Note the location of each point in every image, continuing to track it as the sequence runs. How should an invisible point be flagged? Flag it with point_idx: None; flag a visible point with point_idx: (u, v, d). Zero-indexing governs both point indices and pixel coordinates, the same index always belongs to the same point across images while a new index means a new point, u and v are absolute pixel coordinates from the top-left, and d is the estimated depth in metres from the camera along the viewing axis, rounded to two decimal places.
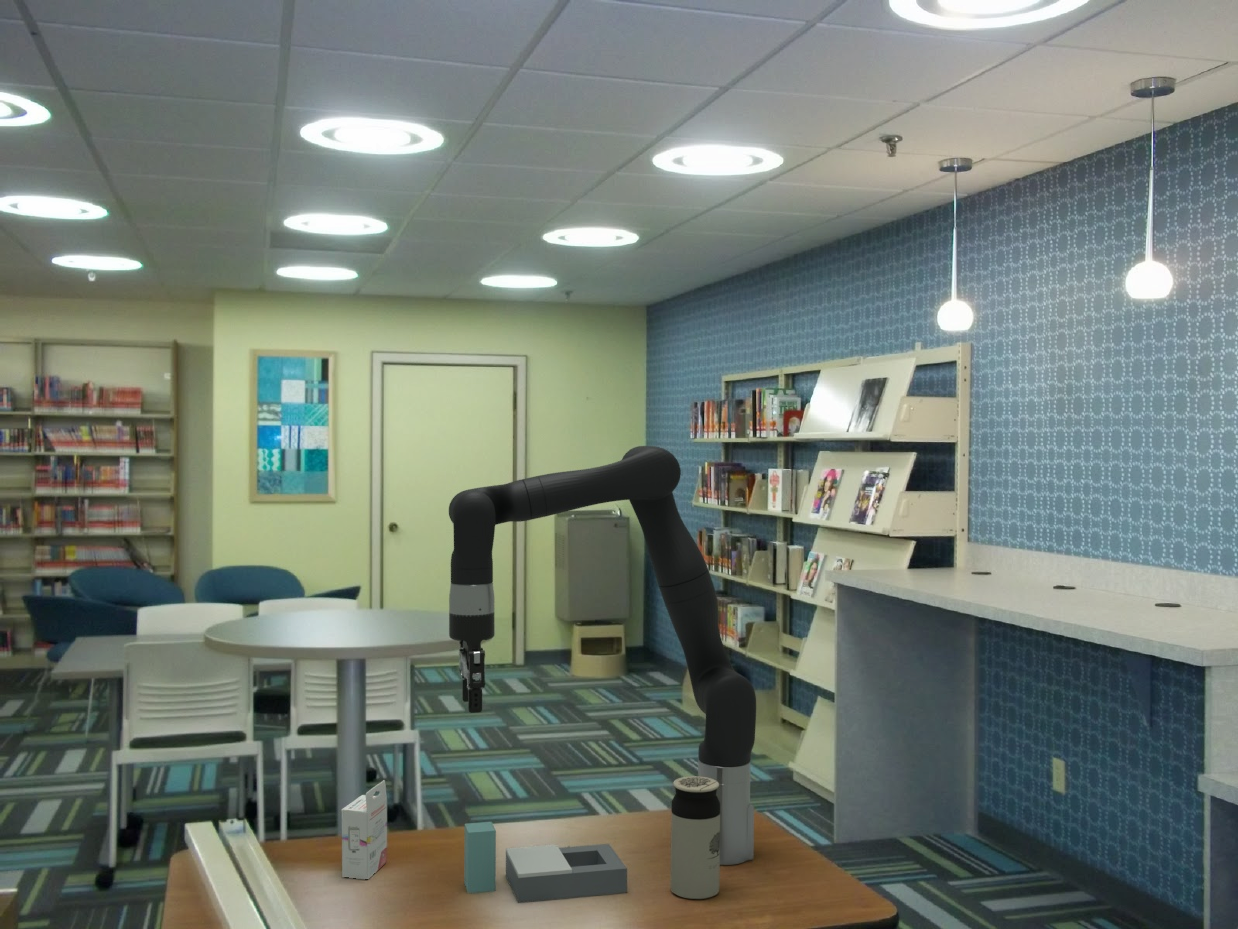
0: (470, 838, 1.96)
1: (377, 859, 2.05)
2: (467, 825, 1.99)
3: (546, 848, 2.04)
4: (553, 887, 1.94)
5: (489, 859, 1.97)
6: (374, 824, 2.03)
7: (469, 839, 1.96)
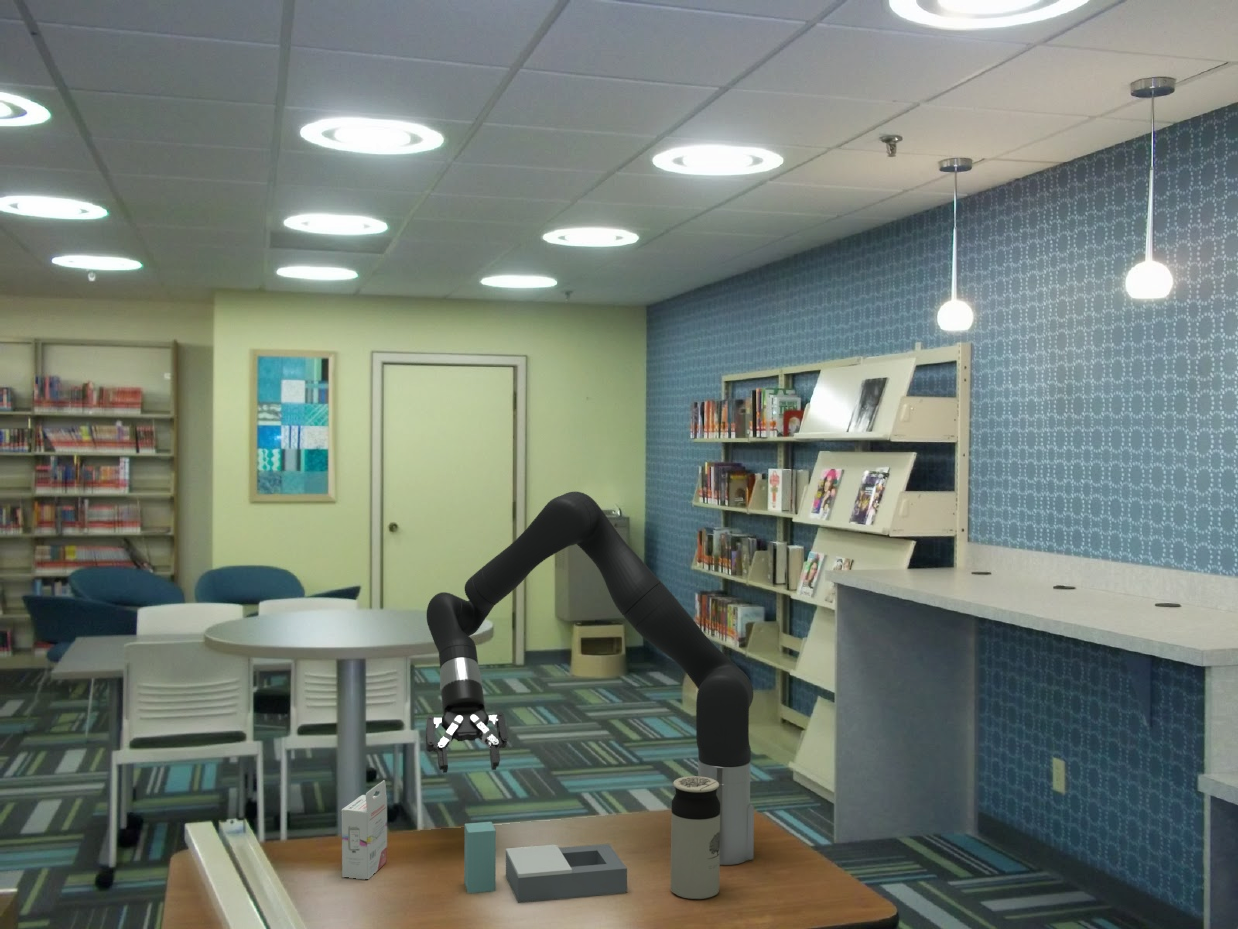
0: (470, 838, 1.96)
1: (377, 859, 2.05)
2: (467, 825, 1.99)
3: (546, 848, 2.04)
4: (553, 887, 1.94)
5: (489, 859, 1.97)
6: (374, 824, 2.03)
7: (469, 839, 1.96)
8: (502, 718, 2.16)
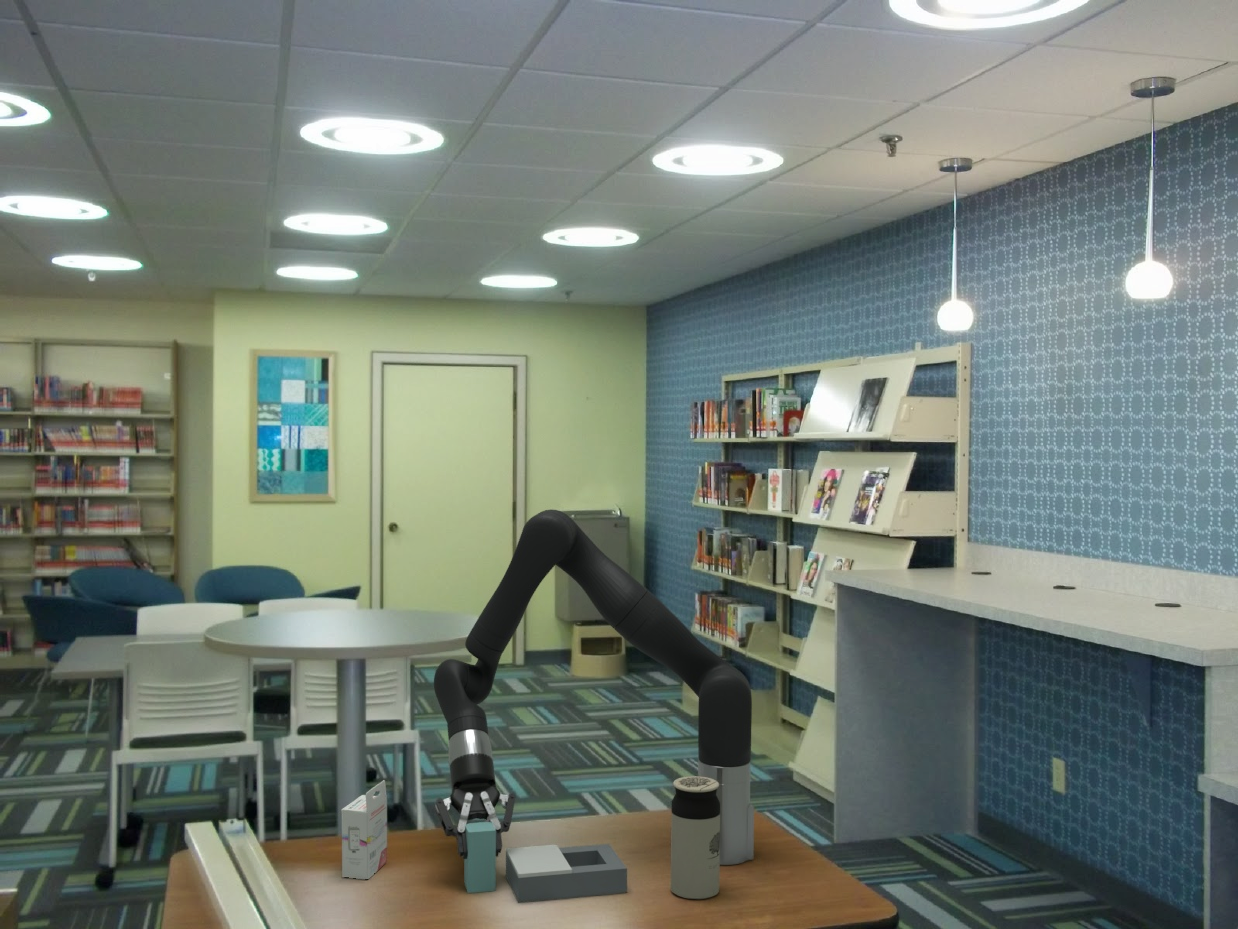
0: (470, 838, 1.96)
1: (377, 859, 2.05)
2: (467, 825, 1.99)
3: (546, 848, 2.04)
4: (553, 887, 1.94)
5: (489, 859, 1.97)
6: (374, 824, 2.03)
7: (469, 839, 1.96)
8: (512, 800, 2.04)
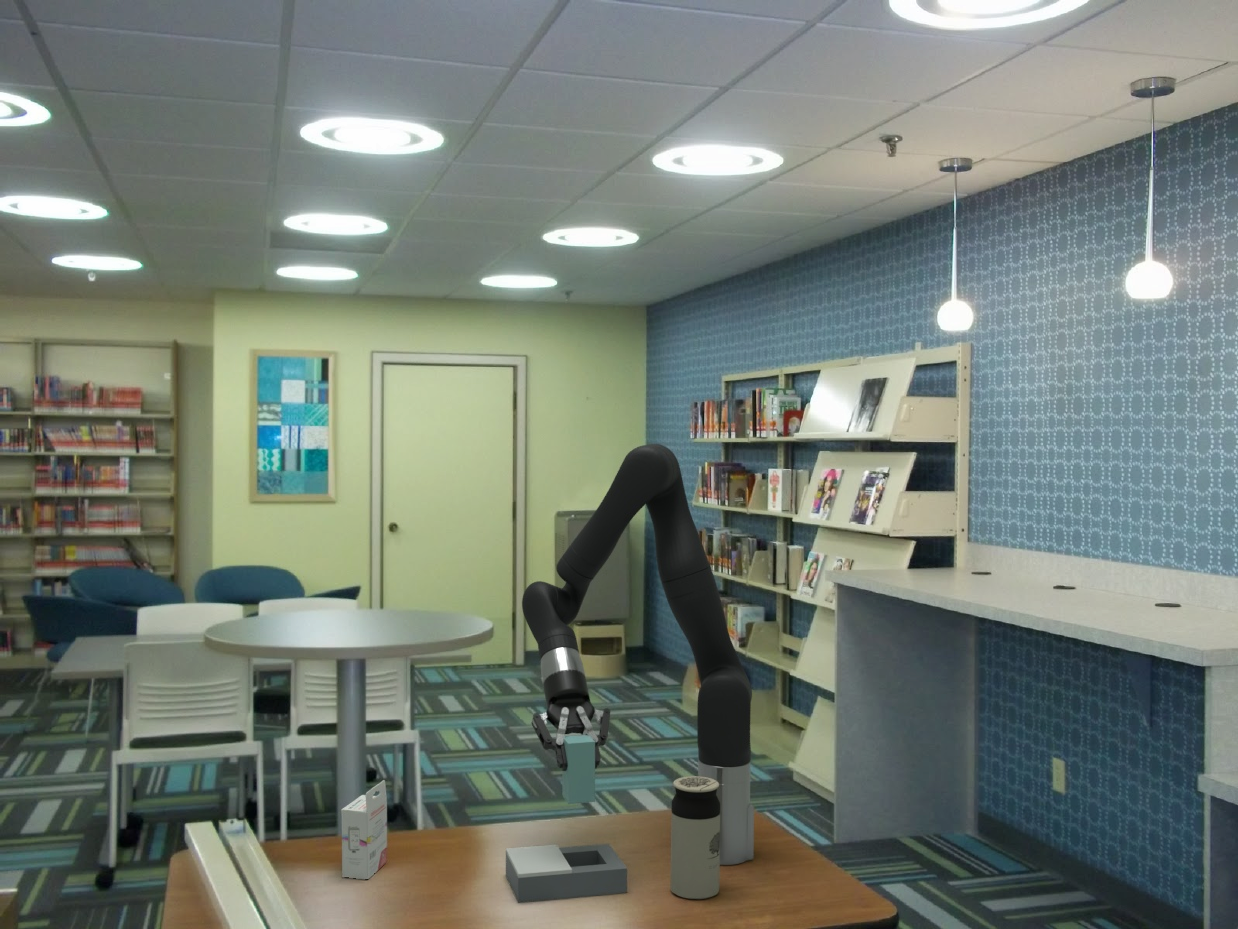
0: (570, 749, 1.97)
1: (377, 859, 2.05)
2: (565, 738, 2.01)
3: (546, 848, 2.04)
4: (553, 887, 1.94)
5: (588, 770, 1.98)
6: (374, 824, 2.03)
7: (569, 750, 1.97)
8: (607, 715, 2.06)
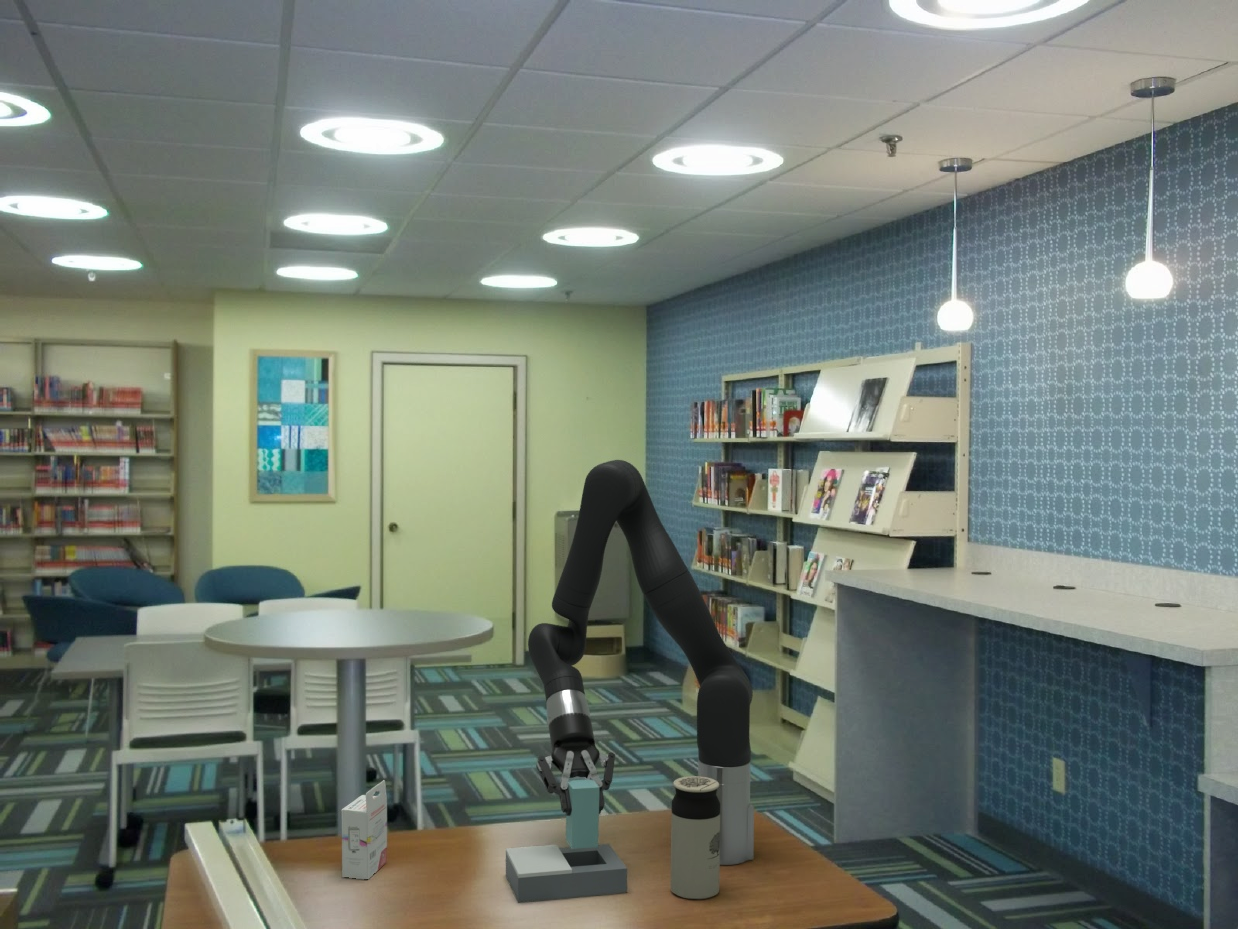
0: (574, 794, 1.98)
1: (377, 859, 2.05)
2: (570, 782, 2.01)
3: (546, 848, 2.04)
4: (553, 887, 1.94)
5: (592, 815, 1.99)
6: (374, 824, 2.03)
7: (573, 795, 1.98)
8: (612, 759, 2.06)
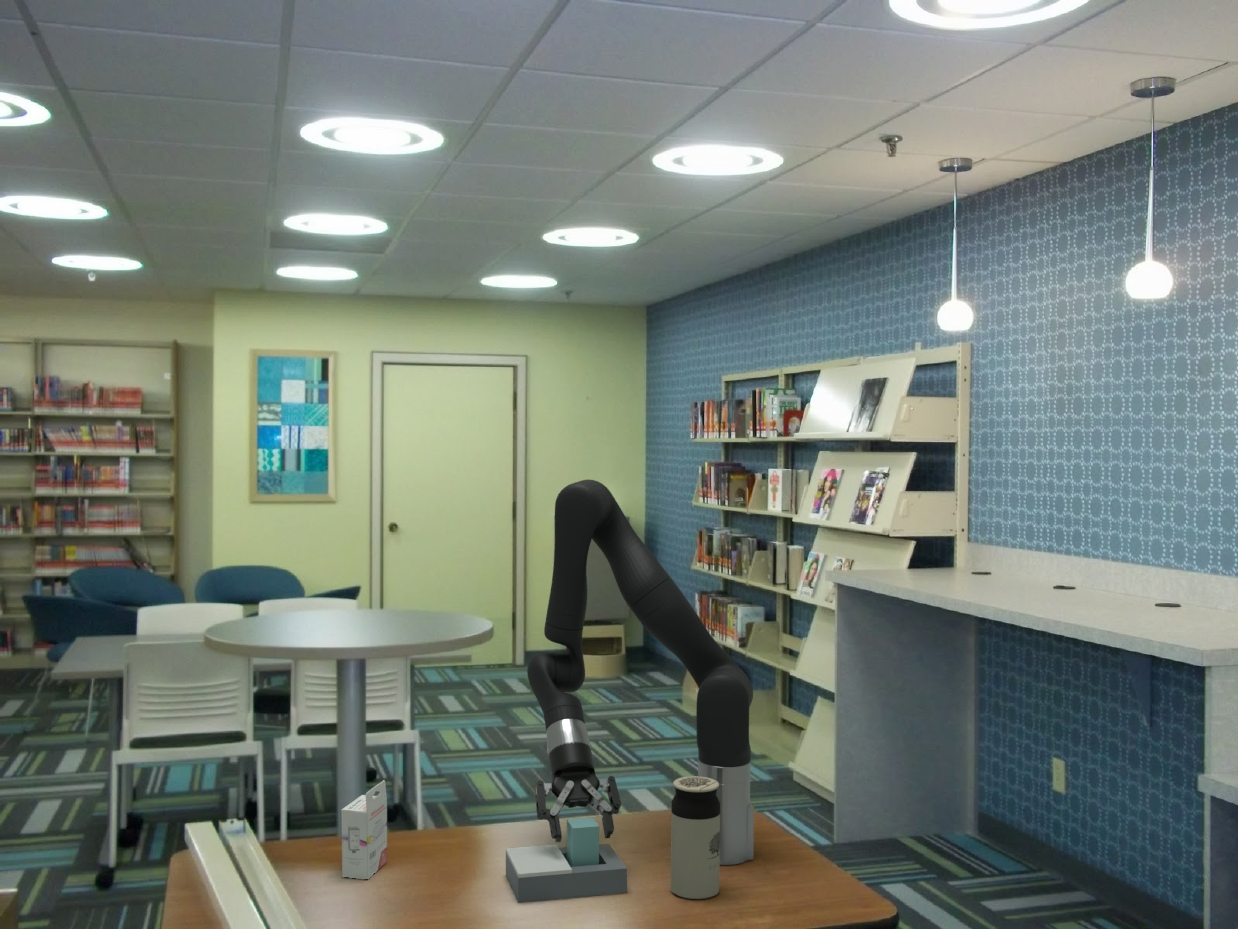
0: (574, 833, 1.98)
1: (377, 859, 2.05)
2: (570, 821, 2.02)
3: (546, 848, 2.04)
4: (553, 887, 1.94)
5: (592, 854, 1.99)
6: (374, 824, 2.03)
7: (573, 835, 1.98)
8: (613, 782, 2.07)
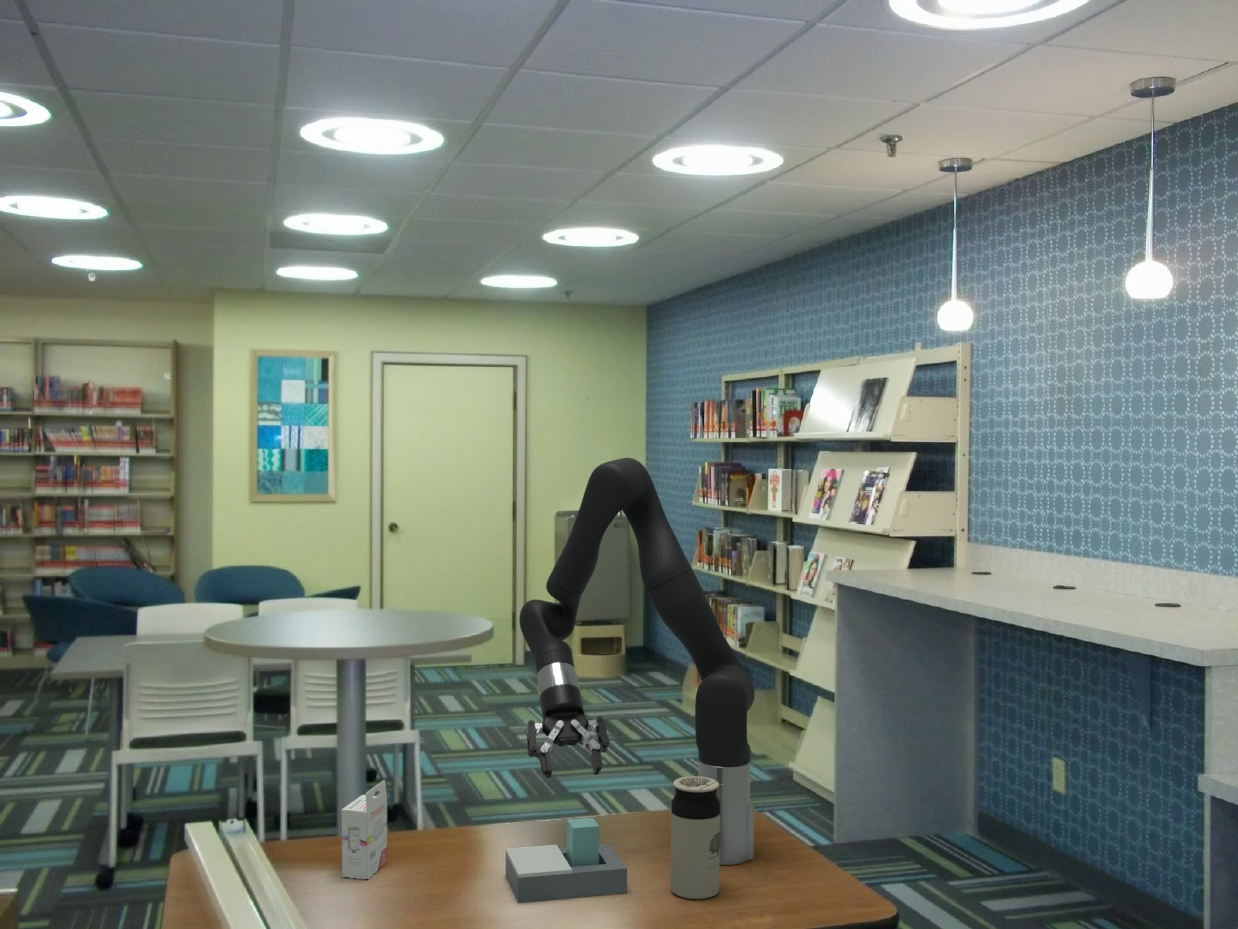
0: (574, 833, 1.98)
1: (377, 859, 2.05)
2: (570, 821, 2.02)
3: (546, 848, 2.04)
4: (553, 887, 1.94)
5: (592, 854, 1.99)
6: (374, 824, 2.03)
7: (573, 834, 1.98)
8: (602, 722, 2.15)
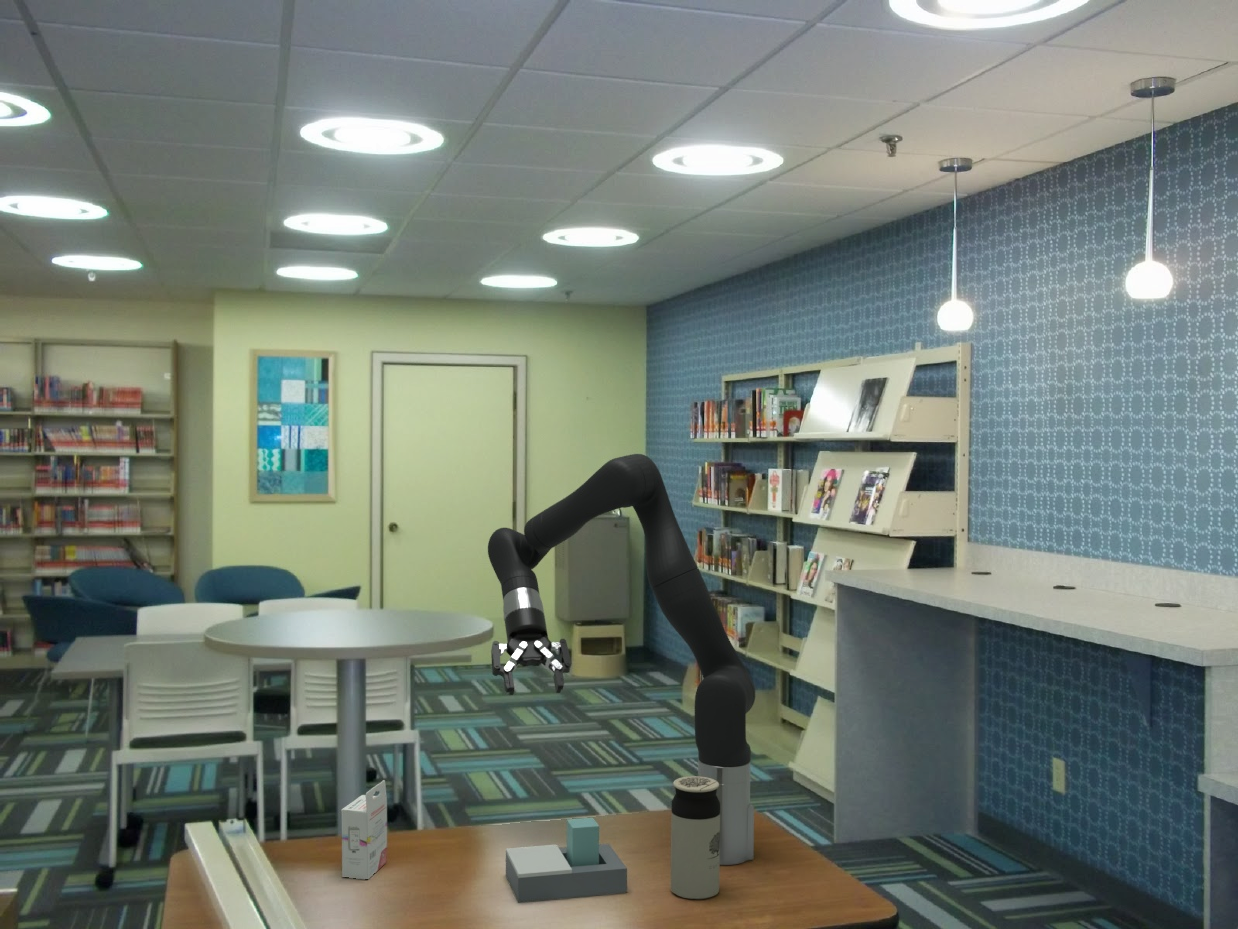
0: (574, 833, 1.98)
1: (377, 859, 2.05)
2: (570, 821, 2.02)
3: (546, 848, 2.04)
4: (553, 887, 1.94)
5: (592, 854, 1.99)
6: (374, 824, 2.03)
7: (573, 834, 1.98)
8: (565, 644, 2.22)
